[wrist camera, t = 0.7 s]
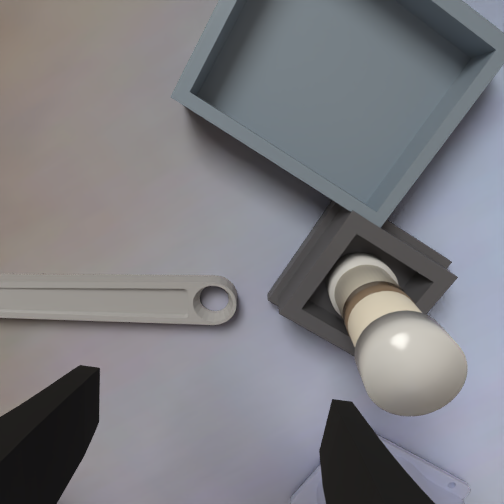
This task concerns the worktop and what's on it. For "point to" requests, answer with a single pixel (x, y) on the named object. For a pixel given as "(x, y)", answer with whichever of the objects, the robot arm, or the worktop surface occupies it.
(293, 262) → the dark grey square holder
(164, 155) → the worktop surface
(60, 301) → the adjustable wrench
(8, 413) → the robot arm
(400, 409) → the banded white capsule
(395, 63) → the parts tray
